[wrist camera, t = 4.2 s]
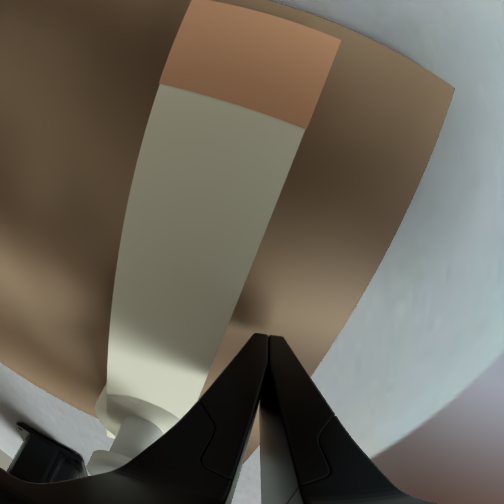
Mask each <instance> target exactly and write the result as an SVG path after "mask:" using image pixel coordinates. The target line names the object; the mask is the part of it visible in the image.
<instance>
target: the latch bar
mask: <svg viewBox="0 0 504 504" xmlns="http://www.w3.org/2000/svg"><path fill="white" fill-rule="evenodd" d="M340 42H341V40H340V39H338V38H335V37H333V36H330V35H328V34H325V33H323V32H320V31H317V30H315V29H312V28H309V27H307V26H304V25H301V24H298V23H295V22H292V21H289V20H286V19H283V18H280V17H276V16H273V15H270V14H266V13H263V12H259V11H255V10H251V9H247V8H243V7H239V6H235V5H230V4H226V3H221V2H216V1H211V0H192V1H191V3H190V5H189V7H188V9H187V12H186V14H185V16H184V18H183V21H182V23H181V26H180V28H179V30H178V33H177V35H176V38H175V40H174V43H173V45H172V48H171V50H170V53H169V56H168V58H167V61H166V64H165V67H164V69H163V72H162V75H161V78H160V81H159V84H160V85H159V88H158V91H157V94H156V97H155V100H154V103H153V106H152V110H151V113H150V116H149V120H148V123H147V126H146V130H145V133H144V137H143V141H142V144H141V148H140V152H139V156H138V160H137V164H136V168H135V172H134V176H133V181H132V185H131V190H130V194H129V199H128V204H127V209H126V214H125V219H124V224H123V230H122V235H121V241H120V247H119V253H118V260H117V267H116V274H115V282H114V290H113V298H112V308H111V318H110V330H109V344H108V362H107V383H106V385H105V387H104V389H103V391H102V392H101V394H100V396H99V398H98V400H97V401H96V404H95V412H96V414H97V417H98V419H99V420H100V422H101V423H102V424H103V425H104V427H105V428H106V429H107V436H108V437H111V438H113V439H115V440H114V442H113V445H112V447H111V449H110V451H105V450H97V451H94V452H93V454H92V456H91V458H90V460H89V462H88V465H87V470H88V472H89V473H90V474H91V475H97V474H101V473H106V472H109V471H112V470H115V469H117V468H119V467H121V466H123V465H124V464H126V463H127V462H129V461H130V460H132V459H133V458H134V457H136V456H137V455H138V454H140V453H141V452H142V451H143V450H145V449H146V448H147V447H148V446H150V445H151V444H152V443H154V442H155V441H156V440H157V439H159V438H160V437H161V436H162V435H163V434H165V433H166V432H167V431H168V430H169V429H170V428H172V427H173V426H174V425H175V424H176V423H177V422H178V421H179V420H180V419H181V418H182V417H183V416H184V415H185V414H186V413H187V412H188V411H189V410H190V409H191V408H192V406H193V405H194V404H195V403H196V402H197V401H198V398H199V396H200V393H201V391H202V388H203V386H204V383H205V381H206V378H207V376H208V373H209V371H210V368H211V366H212V363H213V361H214V358H215V356H216V353H217V351H218V348H219V346H220V344H221V341H222V339H223V336H224V334H225V331H226V329H227V326H228V324H229V321H230V319H231V316H232V314H233V311H234V309H235V306H236V304H237V301H238V299H239V296H240V294H241V291H242V289H243V286H244V283H245V281H246V278H247V276H248V273H249V271H250V268H251V266H252V263H253V261H254V258H255V256H256V253H257V251H258V248H259V246H260V243H261V241H262V238H263V236H264V233H265V231H266V228H267V226H268V223H269V221H270V218H271V216H272V213H273V210H274V208H275V205H276V203H277V200H278V198H279V195H280V193H281V190H282V188H283V185H284V183H285V180H286V178H287V175H288V172H289V170H290V167H291V165H292V162H293V160H294V157H295V155H296V152H297V150H298V147H299V144H300V142H301V139H302V137H303V134H304V132H305V129H307V127H308V125H309V122H310V120H311V117H312V114H313V112H314V109H315V107H316V104H317V102H318V99H319V97H320V94H321V91H322V89H323V86H324V84H325V81H326V79H327V76H328V73H329V71H330V68H331V66H332V63H333V61H334V58H335V55H336V53H337V50H338V48H339V45H340Z"/></svg>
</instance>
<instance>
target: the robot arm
mask: <svg viewBox="0 0 504 504" xmlns="http://www.w3.org/2000/svg"><path fill="white" fill-rule="evenodd" d="M258 405H259V430H260V466H261V503H262V504H436V503H433V502H429V501H425V500H422V499H419V498H415V497H413V496H410V495H408V494H406V493H404V492H403V491H401V490H400V489H398V488H397V487H396V486H395V485H394V484H393V483H392V482H391V481H390V480H389V479H388V478H387V477H386V476H385V475H384V474H383V473H382V472H381V471H380V469H379V468H378V467H377V466H376V465H375V464H374V463H373V462H372V461H371V460H370V459H369V457H368V456H367V455H366V454H365V453H364V452H363V451H362V450H361V448H360V447H359V446H358V445H357V444H356V442H355V441H354V440H353V439H352V438H351V436H350V435H349V433H348V432H347V431H346V429H345V428H344V427H343V425H342V424H341V422H340V421H339V419H338V418H337V416H335V414H334V412H333V411H332V409H331V408H330V406H329V405H328V403H327V402H326V400H325V399H324V397H323V396H322V394H321V393H320V391H319V390H318V388H317V387H316V385H315V384H314V382H313V381H312V379H311V378H310V376H309V375H308V373H307V372H306V370H305V369H304V367H303V366H302V364H301V363H300V361H299V360H298V358H297V357H296V355H295V353H294V352H293V350H292V349H291V347H290V346H289V344H288V343H287V341H286V340H285V338H284V337H283V336H277V335H269V337H268V335H267V334H262V333H254V334H253V335H252V336H251V337H250V339H249V340H248V341H247V342H246V344H245V345H244V346H243V347H242V348H241V350H240V351H239V352H238V353H237V355H236V356H235V357H234V358H233V359H232V361H231V362H230V363H229V364H228V365H227V367H226V368H225V369H224V370H223V371H222V373H221V374H220V375H219V376H218V377H217V379H216V380H215V381H214V382H213V383H212V385H211V386H210V387H209V388H208V389H207V390H206V392H205V393H204V394H203V395H202V396H201V397H200V399H199V400H198V401H197V402H196V403H195V404H194V405H193V406H192V408H191V409H190V410H189V411H188V412H187V413H186V414H185V415H184V416H183V417H182V418H181V419H180V420H179V421H178V422H177V423H176V424H175V425H174V426H173V427H172V428H170V429H169V430H168V431H167V432H166V433H165V434H163V435H162V436H161V437H160V438H159V439H157V440H156V441H155V442H154V443H152V444H151V445H150V446H148V447H147V448H146V449H145V450H143V451H142V452H141V453H140V454H138V455H137V456H136V457H134V458H133V459H132V460H130V461H129V462H127V463H126V464H124V465H123V466H121V467H119V468H117V469H115V470H112V471H109V472H106V473H101V474H97V475H92V476H87V472H86V468H85V465H84V461H83V459H82V458H81V457H79V456H77V455H76V454H74V453H72V452H70V451H68V450H66V449H64V448H62V447H60V446H59V445H57V444H55V443H53V442H51V441H50V440H48V439H46V438H44V437H43V436H41V435H39V434H38V433H36V432H35V431H33V430H31V429H30V428H28V427H27V426H25V425H24V424H22V423H20V422H17V424H16V427H17V429H18V431H19V433H20V435H21V437H22V439H23V441H24V442H23V443H22V445H21V447H20V449H19V450H18V452H17V454H16V455H15V457H14V459H13V461H12V463H11V464H10V466H9V468H8V469H7V471H5V470H3V469H2V468H0V504H231V502H232V498H233V495H234V492H235V488H236V485H237V482H238V478H239V475H240V471H241V468H242V464H243V461H244V457H245V454H246V450H247V447H248V443H249V440H250V436H251V432H252V429H253V425H254V421H255V418H256V414H257V410H258Z"/></svg>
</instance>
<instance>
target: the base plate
mask: <svg viewBox="0 0 504 504" xmlns="http://www.w3.org/2000/svg"><path fill="white" fill-rule="evenodd" d="M191 1H192V0H0V362H1V363H2V364H4V365H5V366H7V367H8V368H10V369H11V370H13V371H14V372H16V373H17V374H19V375H20V376H22V377H23V378H25V379H26V380H28V381H30V382H31V383H33V384H34V385H36V386H38V387H39V388H41V389H43V390H44V391H46V392H48V393H50V394H51V395H53V396H55V397H57V398H58V399H60V400H62V401H64V402H66V403H68V404H70V405H72V406H73V407H75V408H77V409H79V410H81V411H83V412H85V413H87V414H89V415H91V416H94V417H96V418H98V417H97V414H96V412H95V404H96V401H97V400H98V398H99V396H100V394H101V392H102V391H103V389H104V387H105V385H106V383H107V362H108V344H109V330H110V318H111V308H112V298H113V290H114V282H115V274H116V267H117V260H118V253H119V247H120V241H121V235H122V230H123V224H124V219H125V214H126V209H127V204H128V199H129V194H130V190H131V185H132V181H133V176H134V172H135V168H136V164H137V160H138V156H139V152H140V148H141V144H142V141H143V137H144V133H145V130H146V126H147V123H148V120H149V116H150V113H151V110H152V106H153V103H154V100H155V97H156V94H157V91H158V88H159V85H160V84H159V81H160V78H161V75H162V72H163V69H164V67H165V64H166V61H167V58H168V56H169V53H170V50H171V48H172V45H173V43H174V40H175V38H176V35H177V33H178V30H179V28H180V26H181V23H182V21H183V18H184V16H185V14H186V12H187V9H188V7H189V5H190V3H191ZM211 1H216V2H221V3H226V4H230V5H235V6H239V7H243V8H247V9H251V10H255V11H259V12H263V13H266V14H270V15H273V16H276V17H280V18H283V19H286V20H289V21H292V22H295V23H298V24H301V25H304V26H307V27H309V28H312V29H315V30H317V31H320V32H323V33H325V34H328V35H330V36H333V37H335V38H338V39H340V40H341V42H340V45H339V48H338V50H337V53H336V55H335V58H334V61H333V63H332V66H331V68H330V71H329V73H328V76H327V79H326V81H325V84H324V86H323V89H322V91H321V94H320V97H319V99H318V102H317V104H316V107H315V109H314V112H313V114H312V117H311V120H310V122H309V125H308V127H307V129H305V132H304V134H303V137H302V139H301V142H300V144H299V147H298V150H297V152H296V155H295V157H294V160H293V162H292V165H291V167H290V170H289V172H288V175H287V178H286V180H285V183H284V185H283V188H282V190H281V193H280V195H279V198H278V200H277V203H276V205H275V208H274V210H273V213H272V216H271V218H270V221H269V223H268V226H267V228H266V231H265V233H264V236H263V238H262V241H261V243H260V246H259V248H258V251H257V253H256V256H255V258H254V261H253V263H252V266H251V268H250V271H249V273H248V276H247V278H246V281H245V283H244V286H243V289H242V291H241V294H240V296H239V299H238V301H237V304H236V306H235V309H234V311H233V314H232V316H231V319H230V321H229V324H228V326H227V329H226V331H225V334H224V336H223V339H222V341H221V344H220V346H219V348H218V351H217V353H216V356H215V358H214V361H213V363H212V366H211V368H210V371H209V373H208V376H207V378H206V381H205V383H204V386H203V388H202V391H201V393H200V396H199V398H198V400H199V399H200V397H201V396H202V395H203V394H204V393H205V392H206V390H207V389H208V388H209V387H210V386H211V385H212V383H213V382H214V381H215V380H216V379H217V377H218V376H219V375H220V374H221V373H222V371H223V370H224V369H225V368H226V367H227V365H228V364H229V363H230V362H231V361H232V359H233V358H234V357H235V356H236V355H237V353H238V352H239V351H240V350H241V348H242V347H243V346H244V345H245V344H246V342H247V341H248V340H249V339H250V337H251V336H252V335H253V334H254V333H262V334H267V335H268V337H269V335H277V336H283V337H284V338H285V340H286V341H287V343H288V344H289V346H290V347H291V349H292V350H293V352H294V353H295V355H296V357H297V358H298V360H299V361H300V363H301V364H302V366H303V367H304V369H305V370H306V372H307V373H308V375H309V376H310V377H311V375H312V374H313V373H314V371H315V370H316V368H317V367H318V365H319V364H320V362H321V361H322V359H323V358H324V356H325V355H326V353H327V352H328V350H329V349H330V347H331V346H332V344H333V343H334V341H335V339H336V338H337V336H338V335H339V333H340V332H341V330H342V328H343V327H344V325H345V324H346V322H347V320H348V319H349V317H350V315H351V314H352V312H353V310H354V309H355V307H356V305H357V304H358V302H359V300H360V298H361V297H362V295H363V293H364V292H365V290H366V288H367V286H368V285H369V283H370V281H371V279H372V277H373V276H374V274H375V272H376V270H377V268H378V266H379V265H380V263H381V261H382V259H383V257H384V255H385V253H386V251H387V249H388V248H389V246H390V244H391V242H392V240H393V238H394V236H395V234H396V232H397V230H398V228H399V226H400V224H401V222H402V220H403V217H404V215H405V213H406V211H407V209H408V207H409V205H410V203H411V200H412V198H413V196H414V194H415V192H416V189H417V187H418V185H419V183H420V180H421V178H422V176H423V173H424V171H425V168H426V166H427V164H428V161H429V159H430V156H431V154H432V151H433V149H434V146H435V144H436V141H437V138H438V136H439V133H440V130H441V128H442V125H443V122H444V119H445V117H446V114H447V111H448V108H449V105H450V102H451V99H452V96H453V93H454V90H455V88H454V87H452V86H451V85H449V84H448V83H446V82H445V81H444V80H442V79H440V78H439V77H437V76H436V75H434V74H433V73H431V72H430V71H428V70H426V69H425V68H423V67H422V66H420V65H418V64H417V63H415V62H413V61H411V60H410V59H408V58H406V57H404V56H403V55H401V54H399V53H397V52H395V51H393V50H392V49H390V48H388V47H386V46H384V45H382V44H380V43H378V42H376V41H374V40H372V39H370V38H368V37H366V36H363V35H361V34H359V33H357V32H355V31H352V30H350V29H348V28H346V27H343V26H341V25H338V24H336V23H334V22H331V21H328V20H326V19H323V18H321V17H318V16H315V15H313V14H310V13H307V12H304V11H301V10H298V9H295V8H292V7H289V6H286V5H282V4H279V3H276V2H272V1H268V0H211ZM259 445H260V430H259V405H258V410H257V414H256V418H255V421H254V425H253V429H252V432H251V436H250V440H249V443H248V447H247V450H246V454H245V457H244V461H243V464H244V462H245V461H246V460H247V459H248V458H249V457H250V455H251V454H252V453H253V452H254V451H255V449H256V448H257V447H258V446H259ZM243 464H242V465H243Z"/></svg>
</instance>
